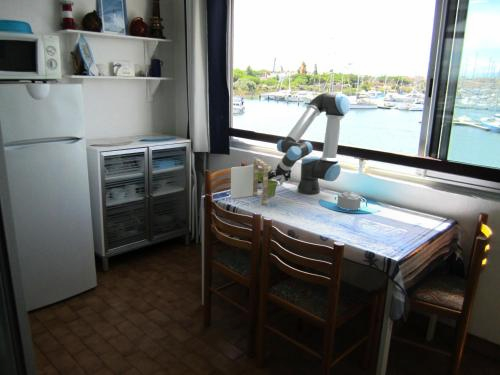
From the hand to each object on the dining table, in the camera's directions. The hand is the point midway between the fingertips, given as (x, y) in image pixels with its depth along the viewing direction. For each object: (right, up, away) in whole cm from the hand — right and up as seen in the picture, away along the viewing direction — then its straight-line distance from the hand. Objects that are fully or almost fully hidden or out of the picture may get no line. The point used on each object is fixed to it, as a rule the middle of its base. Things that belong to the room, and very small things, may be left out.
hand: (271, 184), depth 256 cm
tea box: (-7, -1, +25) cm, 26 cm away
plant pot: (0, -7, +6) cm, 9 cm away
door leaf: (-19, -7, -1) cm, 20 cm away
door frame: (-7, -10, -5) cm, 13 cm away
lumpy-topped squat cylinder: (+45, -14, -14) cm, 49 cm away
